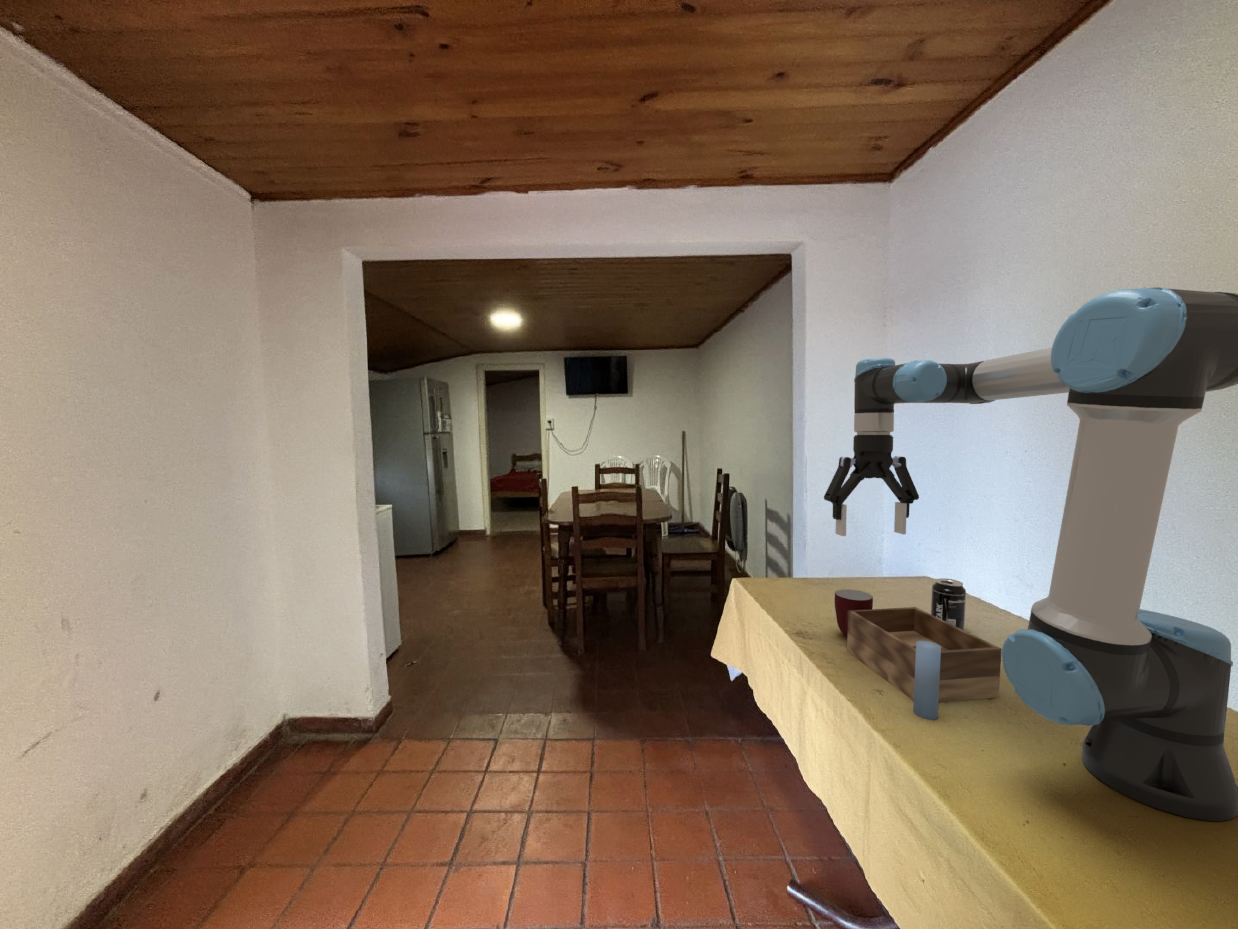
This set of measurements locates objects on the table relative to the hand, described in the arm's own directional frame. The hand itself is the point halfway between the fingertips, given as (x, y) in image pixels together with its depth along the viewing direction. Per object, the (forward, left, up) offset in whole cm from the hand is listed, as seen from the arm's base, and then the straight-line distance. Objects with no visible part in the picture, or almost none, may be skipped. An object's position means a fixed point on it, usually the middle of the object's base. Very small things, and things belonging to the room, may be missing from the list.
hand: (870, 534), depth 112 cm
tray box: (-10, -4, -26) cm, 28 cm away
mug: (+7, -1, -26) cm, 27 cm away
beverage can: (+8, -26, -26) cm, 38 cm away
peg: (-24, +5, -26) cm, 35 cm away
